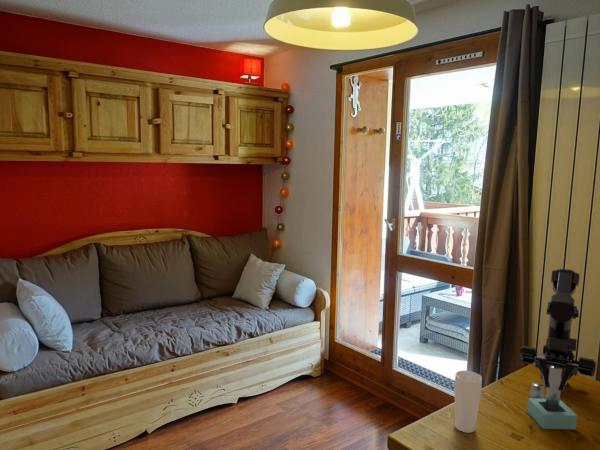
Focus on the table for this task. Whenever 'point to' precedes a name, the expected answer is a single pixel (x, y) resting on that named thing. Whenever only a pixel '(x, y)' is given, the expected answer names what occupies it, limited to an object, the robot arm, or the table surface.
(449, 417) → the table surface
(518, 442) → the table surface
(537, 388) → the short pin
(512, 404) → the table surface
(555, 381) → the tall pin
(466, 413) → the drinking glass
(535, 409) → the hole block
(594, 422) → the table surface
